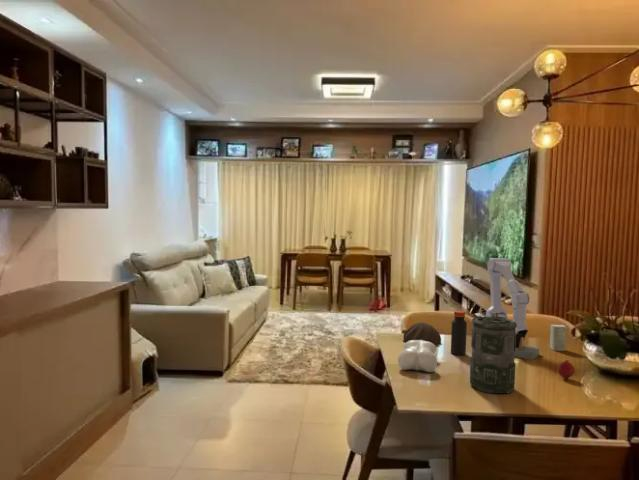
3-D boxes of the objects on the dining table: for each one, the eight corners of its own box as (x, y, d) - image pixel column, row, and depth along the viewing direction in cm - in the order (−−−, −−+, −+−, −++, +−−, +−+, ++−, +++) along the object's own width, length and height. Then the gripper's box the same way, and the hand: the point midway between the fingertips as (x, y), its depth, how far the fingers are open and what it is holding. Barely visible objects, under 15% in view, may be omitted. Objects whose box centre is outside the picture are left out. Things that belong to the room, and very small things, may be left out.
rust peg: (513, 354, 229) (514, 337, 228) (515, 352, 231) (516, 336, 231) (521, 355, 226) (521, 338, 226) (523, 354, 229) (523, 337, 229)
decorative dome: (398, 336, 259) (399, 318, 258) (435, 337, 259) (436, 319, 259) (406, 346, 239) (407, 326, 239) (446, 346, 240) (446, 327, 240)
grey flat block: (496, 353, 229) (497, 346, 229) (504, 348, 239) (504, 342, 238) (532, 360, 219) (533, 353, 219) (538, 354, 229) (539, 347, 229)
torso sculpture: (436, 381, 194) (438, 353, 222) (437, 355, 192) (438, 331, 221) (396, 376, 198) (403, 350, 227) (397, 352, 196) (404, 328, 225)
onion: (567, 382, 189) (568, 362, 189) (554, 377, 194) (555, 358, 194) (577, 380, 192) (577, 360, 192) (563, 375, 197) (564, 356, 197)
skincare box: (562, 348, 241) (563, 324, 240) (565, 351, 236) (567, 326, 236) (549, 348, 241) (550, 324, 241) (552, 350, 237) (553, 326, 236)
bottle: (449, 354, 225) (451, 312, 224) (451, 351, 231) (453, 309, 231) (464, 356, 223) (466, 313, 222) (466, 352, 229) (467, 311, 228)
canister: (509, 398, 170) (512, 319, 169) (464, 389, 179) (467, 314, 178) (517, 385, 184) (520, 312, 183) (475, 377, 192) (478, 308, 191)
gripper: (524, 321, 220) (523, 350, 221) (532, 316, 232) (531, 344, 232) (508, 319, 224) (507, 347, 225) (516, 314, 236) (515, 342, 237)
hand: (518, 346), depth 229 cm, fingers open, 7 cm apart
